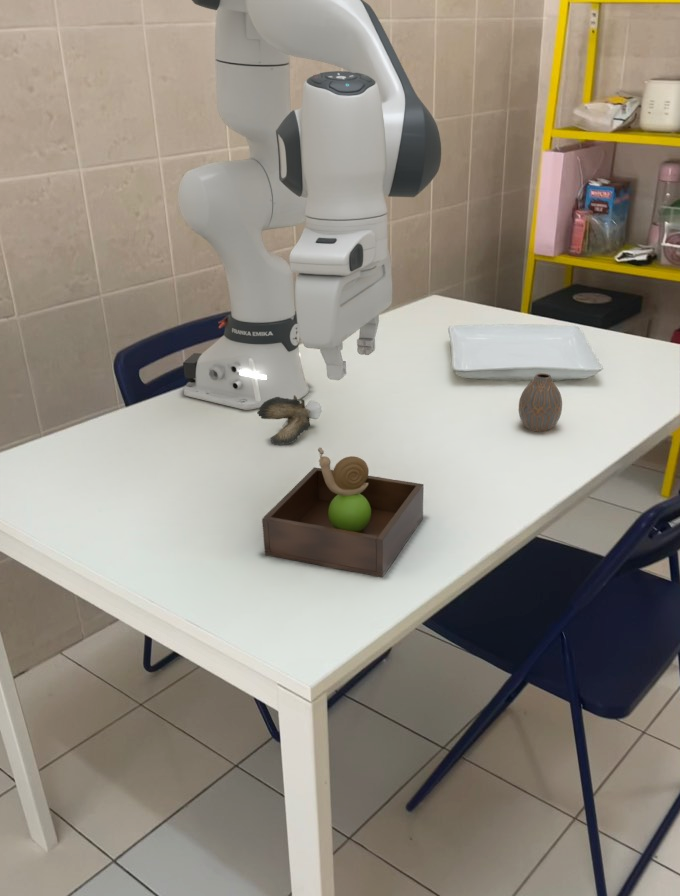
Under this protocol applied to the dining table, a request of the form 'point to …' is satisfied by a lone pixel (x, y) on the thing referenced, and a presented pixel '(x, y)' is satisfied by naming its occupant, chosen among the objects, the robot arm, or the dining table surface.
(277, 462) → the dining table surface
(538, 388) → the vase
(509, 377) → the square plate
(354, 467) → the snail figurine
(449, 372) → the dining table surface
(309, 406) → the eagle figurine
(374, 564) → the crate
